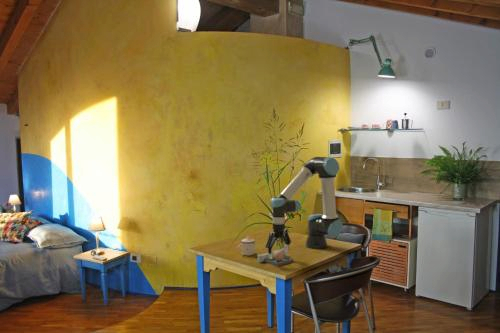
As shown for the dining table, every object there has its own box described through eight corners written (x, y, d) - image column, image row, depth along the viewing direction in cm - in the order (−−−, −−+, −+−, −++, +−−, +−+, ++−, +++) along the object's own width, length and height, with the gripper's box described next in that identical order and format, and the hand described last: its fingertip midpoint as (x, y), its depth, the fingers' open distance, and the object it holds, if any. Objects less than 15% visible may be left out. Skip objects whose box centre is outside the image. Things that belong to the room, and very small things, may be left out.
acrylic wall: (282, 255, 271) (282, 248, 270) (284, 255, 269) (284, 248, 269) (257, 262, 256) (257, 254, 255) (259, 262, 254) (259, 255, 254)
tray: (279, 257, 265) (279, 254, 265) (293, 261, 256) (293, 259, 256) (264, 261, 256) (264, 259, 256) (277, 266, 247) (277, 263, 247)
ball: (278, 258, 261) (278, 249, 260) (285, 261, 256) (285, 251, 255) (271, 260, 256) (271, 250, 256) (278, 263, 252) (278, 253, 251)
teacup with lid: (251, 251, 280) (250, 234, 279) (257, 254, 272) (257, 237, 271) (235, 253, 275) (235, 236, 274) (241, 257, 267) (241, 239, 266)
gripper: (288, 219, 265) (288, 251, 267) (259, 225, 249) (260, 259, 251) (296, 221, 260) (296, 254, 261) (268, 227, 243) (268, 261, 245)
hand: (278, 256), depth 256 cm, fingers open, 13 cm apart
